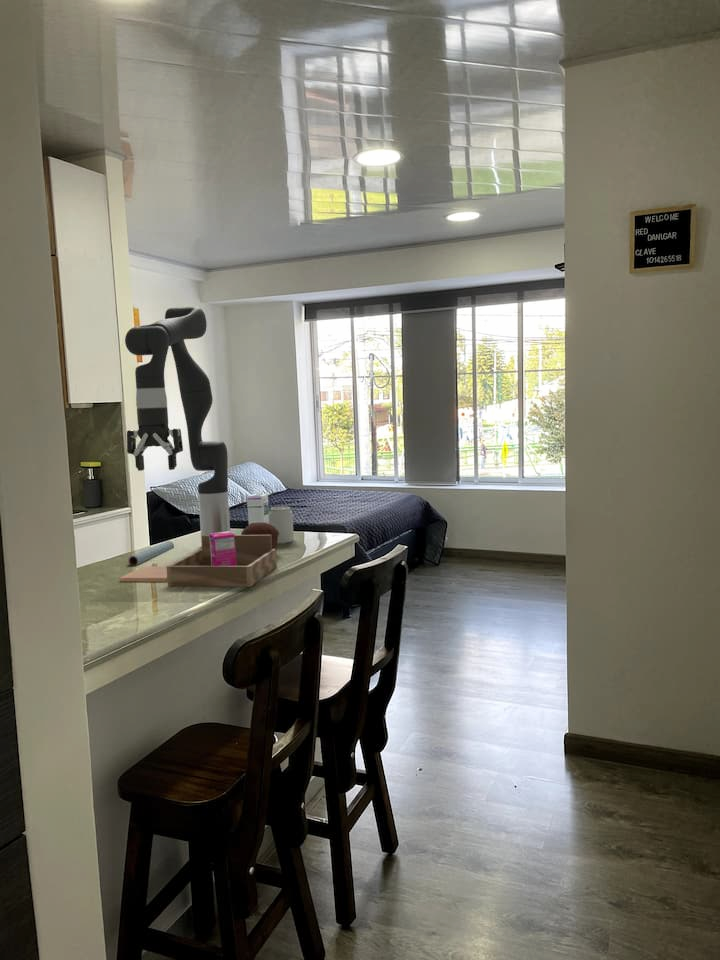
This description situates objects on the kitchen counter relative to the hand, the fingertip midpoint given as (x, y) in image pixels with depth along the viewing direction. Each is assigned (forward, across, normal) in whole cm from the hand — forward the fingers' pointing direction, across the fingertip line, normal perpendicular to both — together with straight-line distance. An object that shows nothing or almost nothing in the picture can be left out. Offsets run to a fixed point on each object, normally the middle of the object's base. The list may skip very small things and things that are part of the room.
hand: (156, 469), depth 191 cm
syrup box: (+30, -4, -64) cm, 70 cm away
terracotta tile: (+29, +6, -5) cm, 30 cm away
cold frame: (+29, -14, -6) cm, 33 cm away
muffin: (+30, -16, -31) cm, 46 cm away
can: (+30, -17, -50) cm, 60 cm away
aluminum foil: (+30, +16, -29) cm, 45 cm away
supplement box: (+29, -14, -6) cm, 33 cm away
